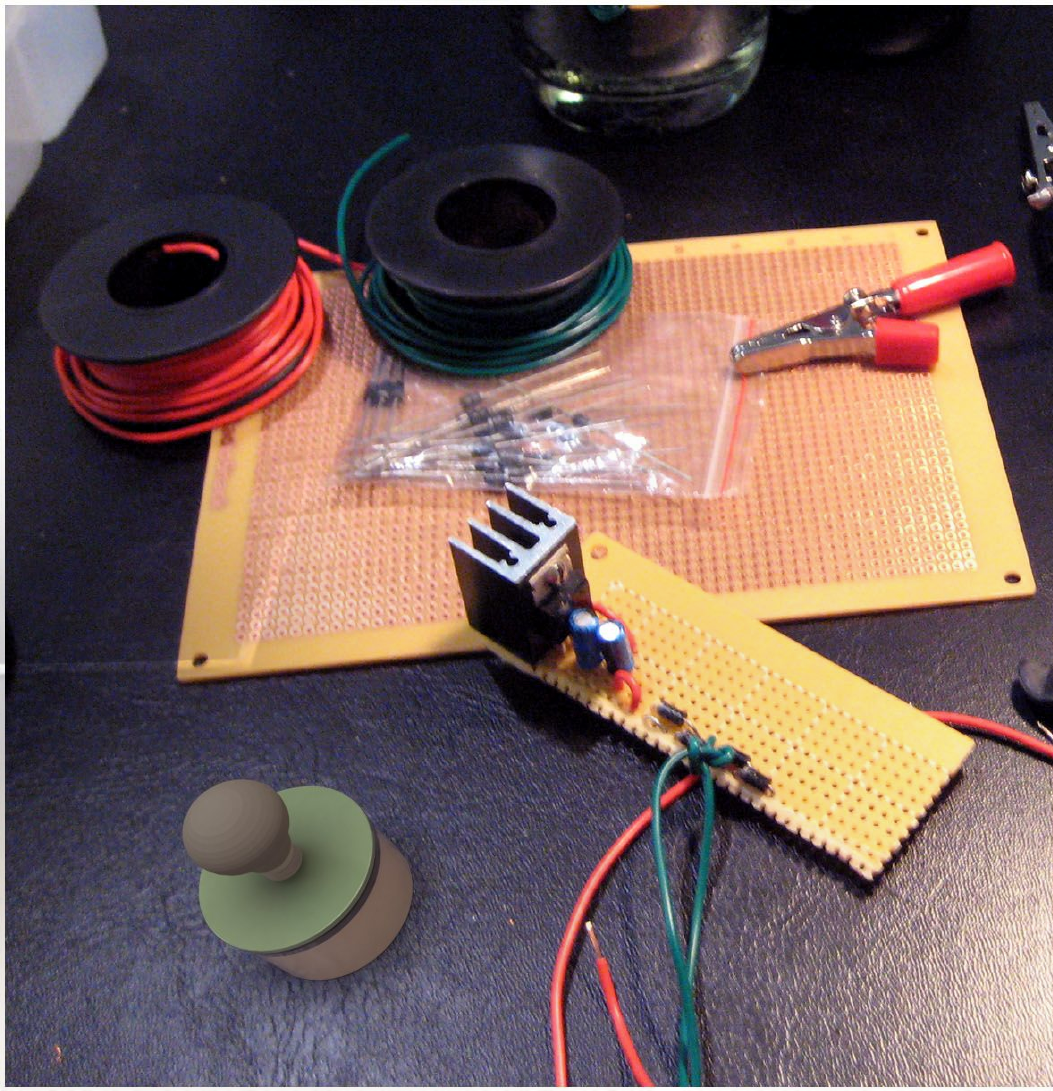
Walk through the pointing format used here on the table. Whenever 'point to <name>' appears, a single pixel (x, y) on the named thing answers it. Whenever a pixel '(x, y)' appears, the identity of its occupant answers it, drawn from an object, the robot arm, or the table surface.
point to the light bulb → (241, 831)
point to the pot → (317, 893)
